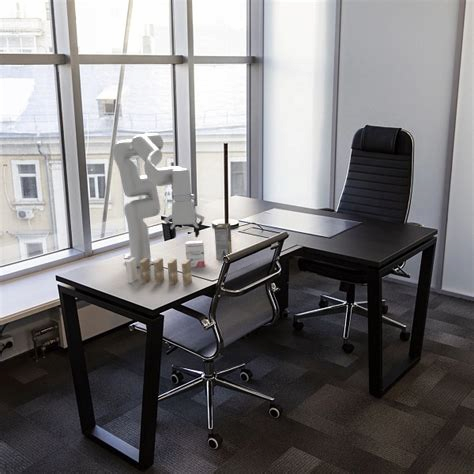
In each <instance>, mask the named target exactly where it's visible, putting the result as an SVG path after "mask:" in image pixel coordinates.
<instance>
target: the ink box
mask: <svg viewBox="0 0 474 474" xmlns="http://www.w3.org/2000/svg"><path fill="white" fill-rule="evenodd" d="M184 244H185V257H186V258H185V260H186V259H191V268H198V267H201V268H202V267H205V265H206V263H205V262H206V261H205V249H204V247H205V245H204V241H203V240H191V241H189V240H188V241H185V243H184Z"/></svg>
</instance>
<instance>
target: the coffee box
mask: <svg viewBox="0 0 474 474" xmlns="http://www.w3.org/2000/svg"><path fill="white" fill-rule="evenodd" d="M231 231H232V230H231V223H217V225H216V226H215V227H214V242H215V259H216V260H223V259H222V258H223V257H224V256H226V255H228V254H230V253H232V254H233V250H232V247H233V245H232V233H231Z"/></svg>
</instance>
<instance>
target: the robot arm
mask: <svg viewBox="0 0 474 474" xmlns="http://www.w3.org/2000/svg"><path fill="white" fill-rule="evenodd" d="M163 147H164V140H163V138H162V136H161V135H160V134H158V133H157V132H156V133H155V132H152V133H151V132H150V133H143V134H137V135H135V136H134V137H132V139H126V140H120V141H117V142H116V143H115V144H114V145H113V147H112V148H113V149H112V155H113V158H114V162H115V163H116V165H117V169H118V171H119V175H120V180H121V181H120V182H121V185H122V190H123V193H124V195H125V196H126V197H127V198H137V197H138V199H133V200H130V201H128V202H126V204H125V205H124V209H123V211H124V215H125V219H126V222H127V229H128V230H127V232H128V238H129V251H130V254H124V255H123V259H124V260H129V259H130V258H131V257H136V267H137V268H140V261H142V260H143V259H144V258H149V262H150V266H151V265H154V262H155V259H154V258H152V256H151V244H150V234H149V226H148V225H147V223H146V222H145V221H144V219H148V218H153V217H156V216H158V215H159V214H160V212H161V205H160V198H159V193H158V187H163V186H171V185H172V194H173V200H172V203H171V204H172V205H171V214H169V216H166V217H165V218H164V219H163V221H164V222H165V224H166V226H167V227H168V228H170V232H171V237H172V239H175V238H176V237H177V230H176V227H175V226H176V225H177V226H178V225H193V226H194V227H195V228H194V235H195V236H194V237H195V238H198V237H199V235H200V227H201V225H202V224H203V222H204V220H205V217H204V216H203V215H200V214H199V213H197V210H196V209H197V208H196V204H195V200H194V199H196V198H195V197H196V194H193V193H192V187H191V176H190V175H191V173H190V170H189V169H188V168H186V167H181V166H178V165H174V166H173V165H172V166H166V167H161V168H158V167H157V165H159V164H160V162H161V161H162V160H163V152H162V149H163ZM134 158H140V159H142V160H143V162H144V166H143V167H144V168H143V169H144V172H145V174H143V175H140V174H139V171H138V166H137V164H136V163H135V162H134V161H133V160H132V159H134ZM143 196H144V197H145V198H139V197H143ZM198 219H199V222H197V221H198ZM169 220H171V221H172V223H171V222H170V221H169Z"/></svg>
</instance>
